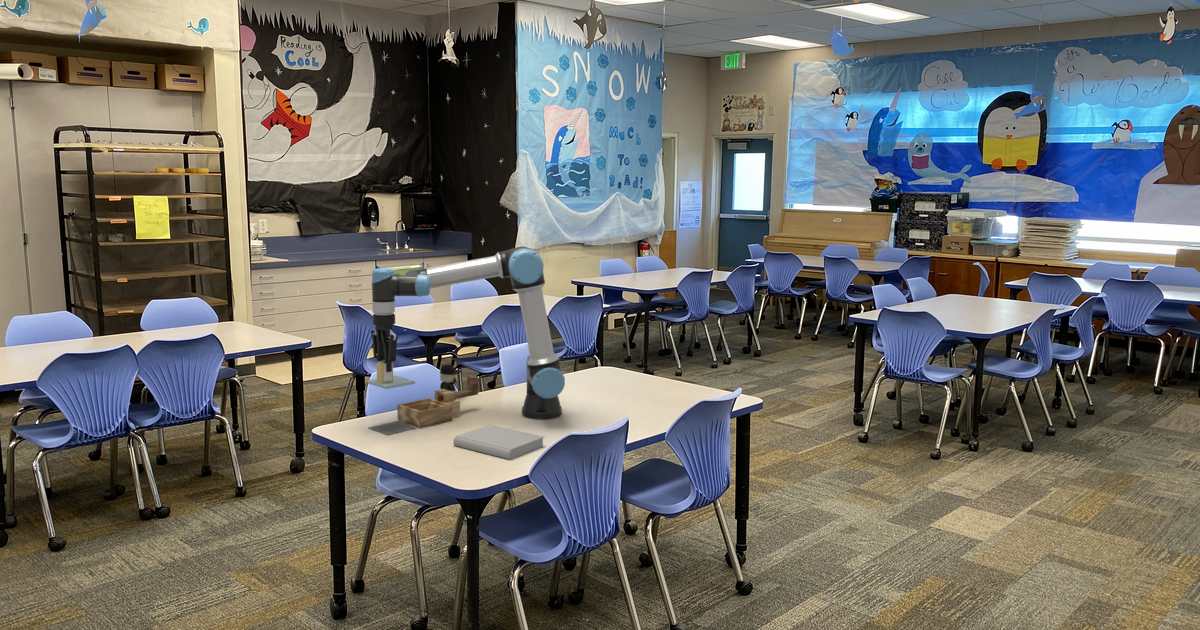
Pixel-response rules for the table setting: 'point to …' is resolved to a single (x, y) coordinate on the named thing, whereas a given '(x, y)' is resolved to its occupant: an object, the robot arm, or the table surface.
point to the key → (468, 388)
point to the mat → (392, 427)
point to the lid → (393, 383)
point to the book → (499, 441)
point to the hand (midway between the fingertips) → (385, 379)
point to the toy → (448, 377)
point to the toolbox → (430, 410)
